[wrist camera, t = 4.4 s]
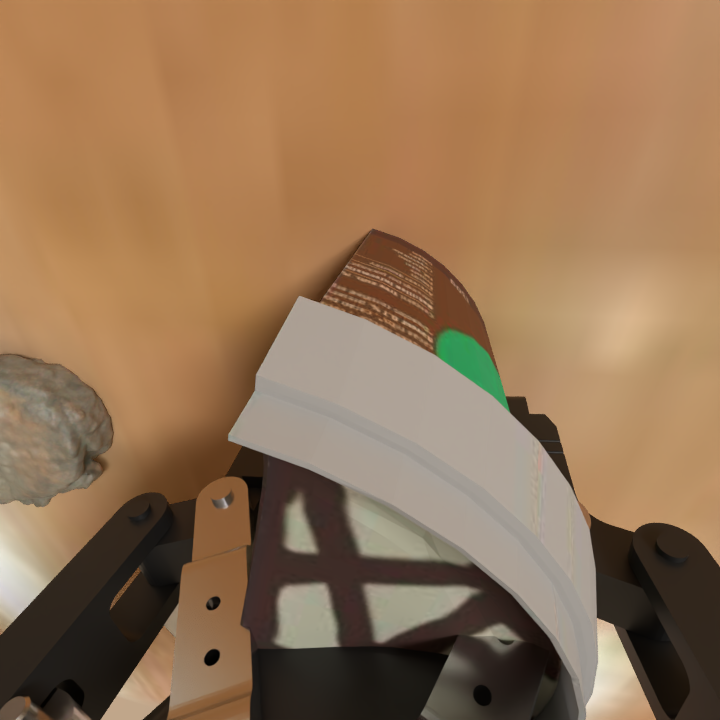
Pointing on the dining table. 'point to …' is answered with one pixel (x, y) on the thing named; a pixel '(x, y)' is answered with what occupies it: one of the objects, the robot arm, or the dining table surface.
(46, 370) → the elongated rock
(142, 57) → the dining table surface
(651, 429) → the dining table surface
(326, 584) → the food container
